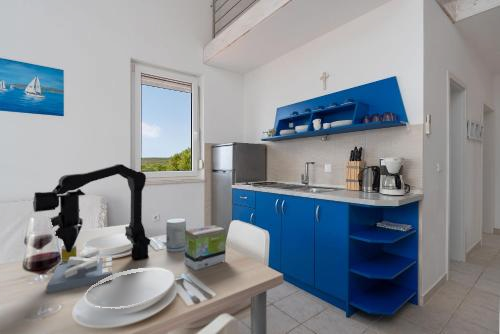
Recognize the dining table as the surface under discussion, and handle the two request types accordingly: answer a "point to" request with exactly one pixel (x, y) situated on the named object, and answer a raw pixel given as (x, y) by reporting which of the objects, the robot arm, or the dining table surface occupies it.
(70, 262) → the rocker
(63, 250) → the supplement bottle
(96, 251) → the rocker
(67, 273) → the rocker
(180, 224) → the supplement tub
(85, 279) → the switch panel
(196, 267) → the tea box
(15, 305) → the dining table surface
